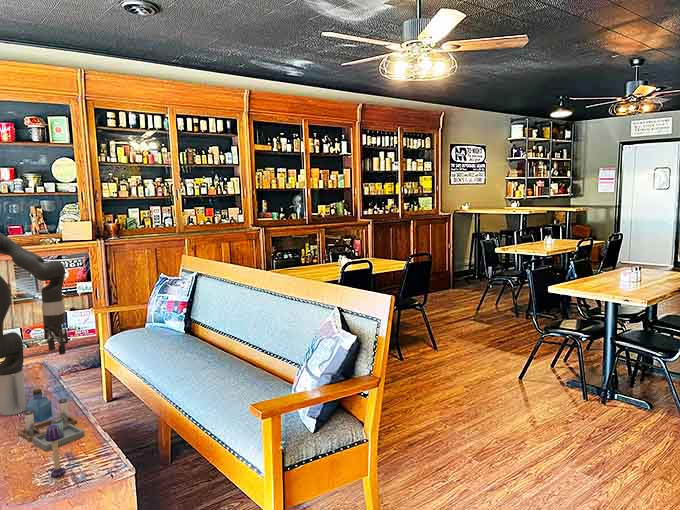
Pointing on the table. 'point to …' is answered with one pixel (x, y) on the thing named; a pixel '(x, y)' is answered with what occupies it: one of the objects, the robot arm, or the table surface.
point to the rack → (22, 432)
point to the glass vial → (29, 423)
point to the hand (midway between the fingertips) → (57, 352)
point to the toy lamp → (55, 449)
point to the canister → (64, 410)
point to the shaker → (59, 423)
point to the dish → (69, 435)
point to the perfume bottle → (39, 406)
